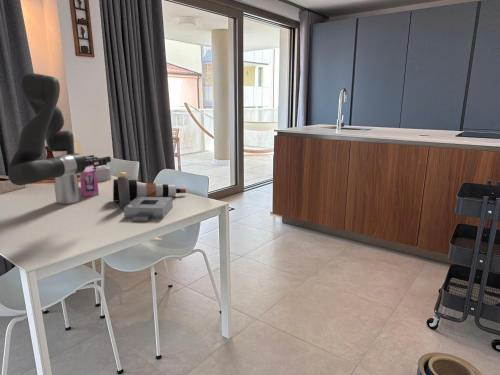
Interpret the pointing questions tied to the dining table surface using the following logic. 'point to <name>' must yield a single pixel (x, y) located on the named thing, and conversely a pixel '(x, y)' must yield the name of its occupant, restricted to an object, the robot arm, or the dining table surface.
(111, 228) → the dining table surface
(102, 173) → the lumpy-topped squat cylinder
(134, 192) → the banded tapered cylinder
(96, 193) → the gum box
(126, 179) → the grey bottle
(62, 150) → the robot arm
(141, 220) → the housing
